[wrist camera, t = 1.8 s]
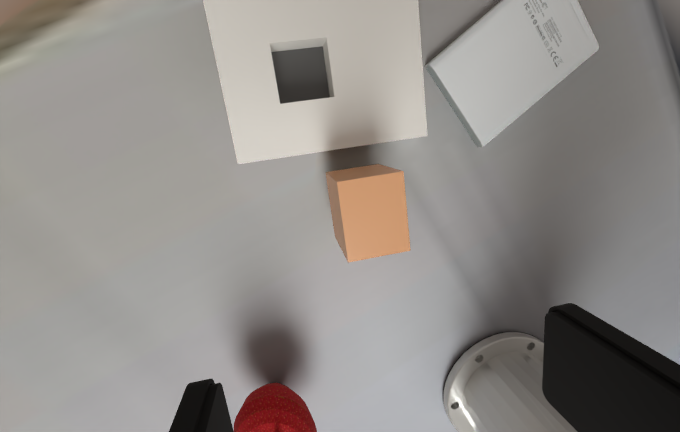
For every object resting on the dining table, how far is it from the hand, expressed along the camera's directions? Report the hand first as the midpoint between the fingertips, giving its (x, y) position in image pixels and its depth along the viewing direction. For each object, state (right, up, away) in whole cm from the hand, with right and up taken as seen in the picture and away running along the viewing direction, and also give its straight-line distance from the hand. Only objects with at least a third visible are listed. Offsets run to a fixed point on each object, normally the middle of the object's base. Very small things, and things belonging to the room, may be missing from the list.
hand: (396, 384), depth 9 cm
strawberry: (-7, -11, +22) cm, 25 cm away
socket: (-3, +15, +16) cm, 22 cm away
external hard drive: (+12, +18, +19) cm, 29 cm away
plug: (-1, +6, +18) cm, 20 cm away
